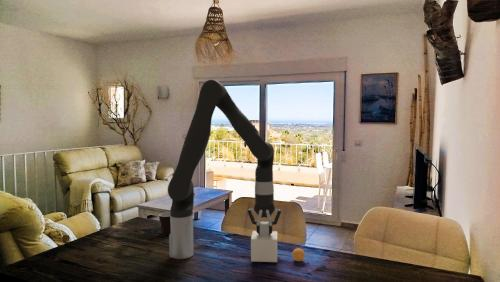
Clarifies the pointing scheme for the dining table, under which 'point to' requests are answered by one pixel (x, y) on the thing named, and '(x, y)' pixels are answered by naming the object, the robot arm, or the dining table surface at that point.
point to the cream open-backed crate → (264, 245)
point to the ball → (298, 254)
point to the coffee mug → (165, 223)
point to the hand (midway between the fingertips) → (264, 234)
